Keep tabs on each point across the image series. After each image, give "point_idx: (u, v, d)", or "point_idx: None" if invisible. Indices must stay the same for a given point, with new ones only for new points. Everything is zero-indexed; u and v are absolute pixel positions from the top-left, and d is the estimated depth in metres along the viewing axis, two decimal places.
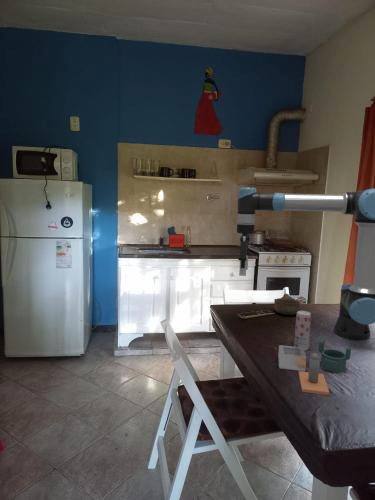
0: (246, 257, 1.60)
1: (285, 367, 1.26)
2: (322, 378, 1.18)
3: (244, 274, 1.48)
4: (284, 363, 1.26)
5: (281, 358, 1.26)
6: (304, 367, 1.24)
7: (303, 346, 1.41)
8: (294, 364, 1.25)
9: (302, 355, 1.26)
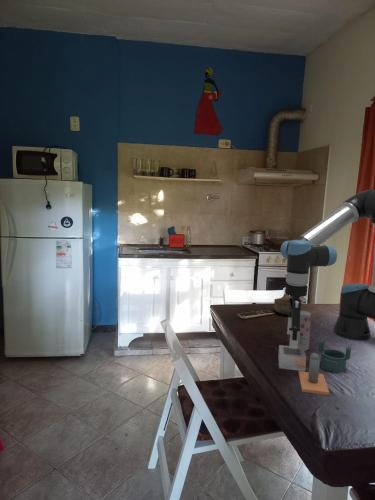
0: None
1: (285, 367, 1.26)
2: (322, 378, 1.18)
3: (295, 347, 1.21)
4: (284, 363, 1.26)
5: (281, 358, 1.26)
6: (304, 367, 1.24)
7: (303, 346, 1.41)
8: (294, 364, 1.25)
9: (302, 355, 1.26)
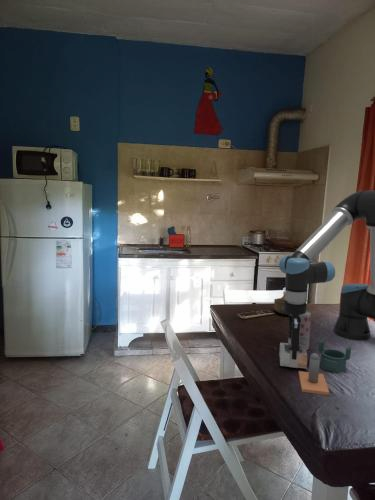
0: None
1: (286, 364, 1.26)
2: (322, 378, 1.18)
3: (295, 366, 1.24)
4: (285, 360, 1.26)
5: (282, 356, 1.26)
6: (305, 364, 1.24)
7: None
8: None
9: (303, 352, 1.26)
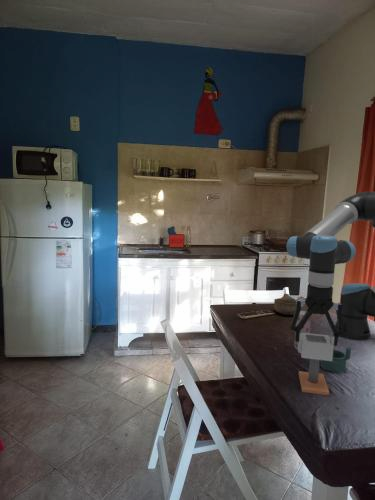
0: (331, 338, 1.12)
1: None
2: (322, 378, 1.18)
3: (298, 350, 1.14)
4: None
5: None
6: (301, 353, 1.11)
7: None
8: (301, 346, 1.14)
9: (308, 341, 1.11)
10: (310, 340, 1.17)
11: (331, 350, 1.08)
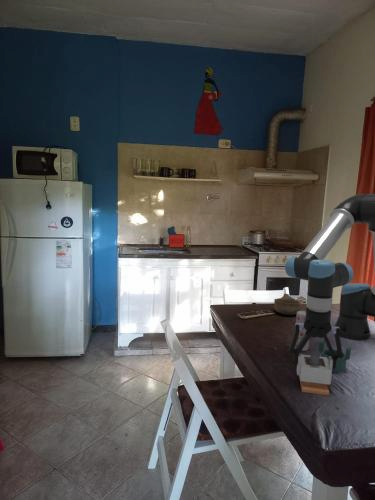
0: (329, 361, 1.13)
1: None
2: None
3: (297, 372, 1.16)
4: None
5: None
6: (300, 376, 1.12)
7: None
8: None
9: (306, 365, 1.12)
10: (309, 362, 1.18)
11: (329, 374, 1.10)
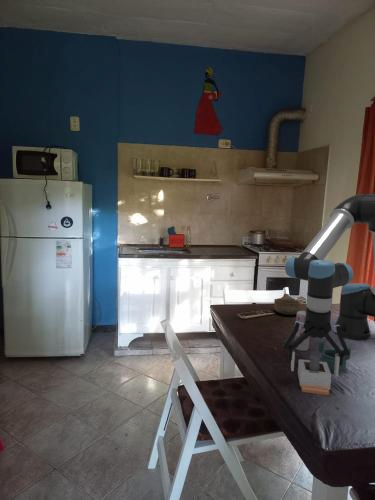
0: (336, 358, 1.12)
1: (298, 374, 1.19)
2: None
3: (291, 368, 1.16)
4: (298, 369, 1.19)
5: (298, 363, 1.20)
6: (300, 381, 1.12)
7: (303, 346, 1.41)
8: (299, 374, 1.16)
9: (306, 370, 1.12)
10: None
11: (329, 379, 1.10)
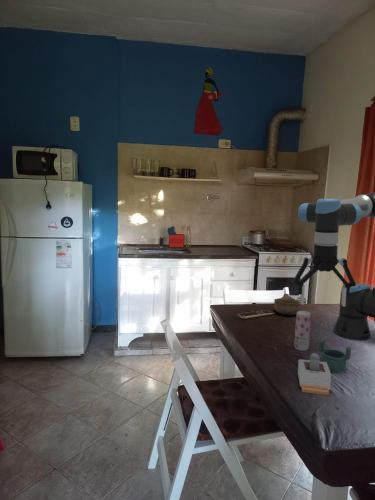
0: (343, 289, 1.21)
1: (298, 374, 1.19)
2: None
3: (301, 302, 1.24)
4: (298, 369, 1.19)
5: (298, 363, 1.20)
6: (300, 381, 1.12)
7: (303, 346, 1.41)
8: (299, 374, 1.16)
9: (306, 370, 1.12)
10: None
11: (329, 379, 1.10)
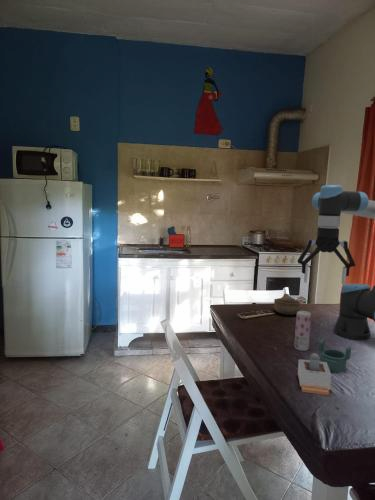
0: (343, 269, 1.31)
1: (298, 374, 1.19)
2: None
3: (304, 280, 1.35)
4: (298, 369, 1.19)
5: (298, 363, 1.20)
6: (300, 381, 1.12)
7: (303, 346, 1.41)
8: (299, 374, 1.16)
9: (306, 370, 1.12)
10: None
11: (329, 379, 1.10)
